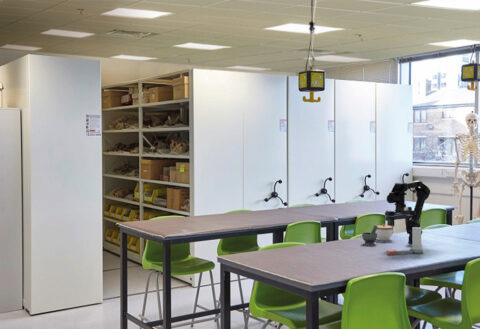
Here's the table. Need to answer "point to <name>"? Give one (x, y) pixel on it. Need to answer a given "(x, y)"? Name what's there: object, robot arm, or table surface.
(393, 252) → the ratchet
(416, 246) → the socket
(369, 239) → the mortar and pestle
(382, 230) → the lidded bowl
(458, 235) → the table surface
